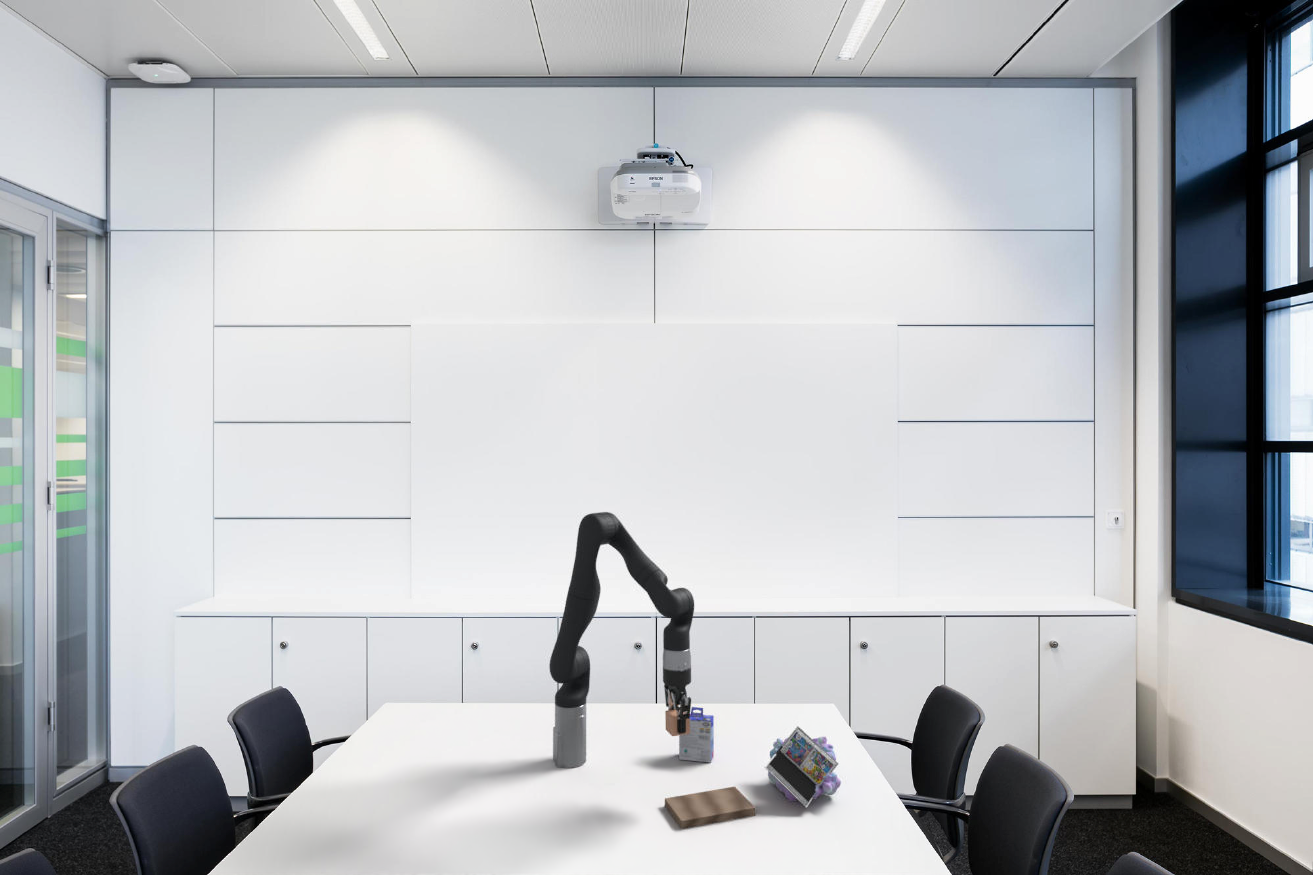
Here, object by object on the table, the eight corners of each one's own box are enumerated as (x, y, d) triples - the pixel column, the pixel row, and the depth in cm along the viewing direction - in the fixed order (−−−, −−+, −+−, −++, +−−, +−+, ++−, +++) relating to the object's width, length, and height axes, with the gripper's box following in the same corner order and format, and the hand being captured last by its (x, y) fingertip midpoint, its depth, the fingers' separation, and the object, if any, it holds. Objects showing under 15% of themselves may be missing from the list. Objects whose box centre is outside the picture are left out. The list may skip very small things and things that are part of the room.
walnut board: (681, 829, 181) (681, 821, 181) (664, 806, 193) (664, 798, 193) (755, 815, 188) (755, 807, 188) (734, 793, 199) (734, 786, 199)
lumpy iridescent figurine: (823, 751, 215) (794, 702, 213) (869, 781, 195) (837, 726, 192) (771, 798, 209) (740, 748, 206) (812, 833, 189) (778, 778, 186)
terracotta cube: (672, 736, 194) (672, 717, 194) (665, 729, 199) (665, 710, 199) (690, 733, 196) (689, 714, 196) (683, 726, 201) (682, 708, 201)
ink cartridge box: (714, 755, 223) (714, 707, 223) (711, 763, 218) (712, 713, 218) (681, 752, 225) (682, 704, 225) (678, 760, 220) (678, 711, 220)
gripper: (654, 659, 203) (655, 721, 203) (673, 674, 189) (674, 741, 189) (680, 656, 205) (681, 718, 205) (700, 670, 192) (701, 737, 192)
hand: (677, 728), depth 197 cm, fingers closed on terracotta cube, 5 cm apart
